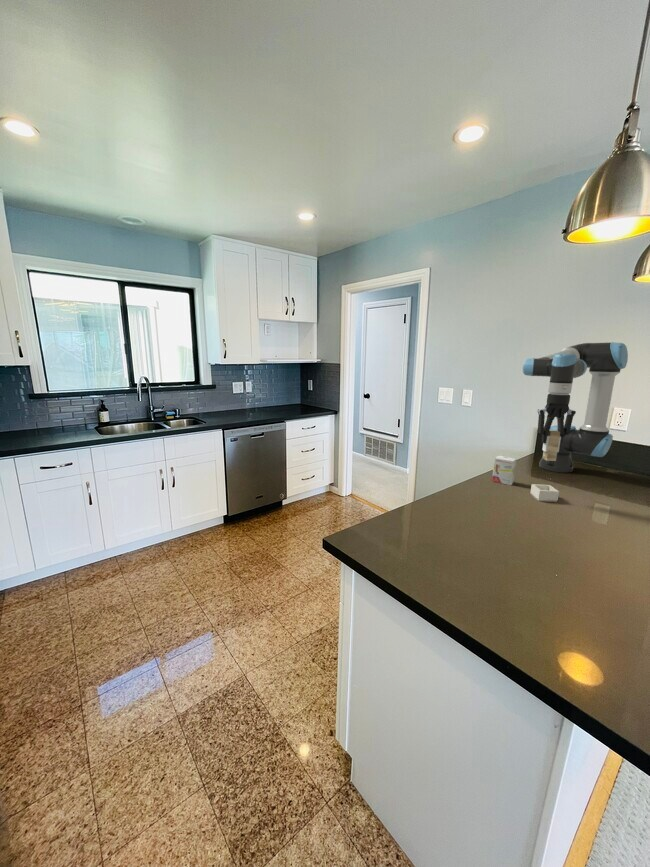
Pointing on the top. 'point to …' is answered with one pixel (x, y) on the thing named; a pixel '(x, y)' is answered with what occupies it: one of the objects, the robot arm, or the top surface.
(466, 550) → the top surface
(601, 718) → the top surface
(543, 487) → the white square open box
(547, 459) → the tan wooden block
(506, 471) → the ink box
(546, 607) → the top surface
